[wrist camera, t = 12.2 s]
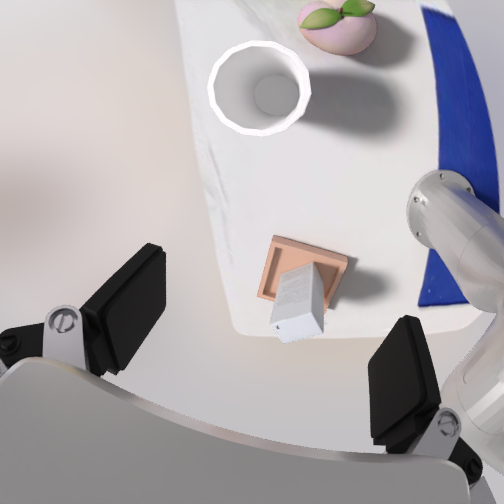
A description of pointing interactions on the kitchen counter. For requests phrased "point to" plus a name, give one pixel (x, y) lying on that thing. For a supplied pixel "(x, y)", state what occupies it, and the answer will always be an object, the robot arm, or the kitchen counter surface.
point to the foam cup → (259, 88)
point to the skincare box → (299, 304)
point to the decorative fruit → (339, 25)
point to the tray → (296, 255)
